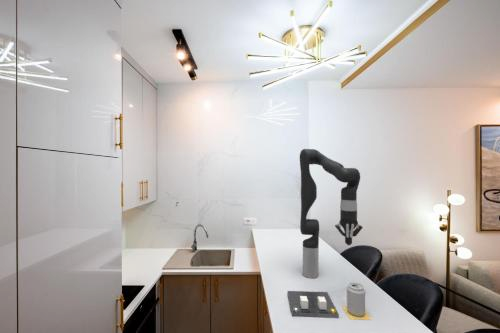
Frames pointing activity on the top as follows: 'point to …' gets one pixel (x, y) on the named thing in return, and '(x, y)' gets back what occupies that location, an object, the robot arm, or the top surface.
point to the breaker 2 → (322, 303)
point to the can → (356, 299)
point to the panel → (311, 304)
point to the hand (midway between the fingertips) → (348, 244)
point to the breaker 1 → (303, 302)
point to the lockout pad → (365, 317)
